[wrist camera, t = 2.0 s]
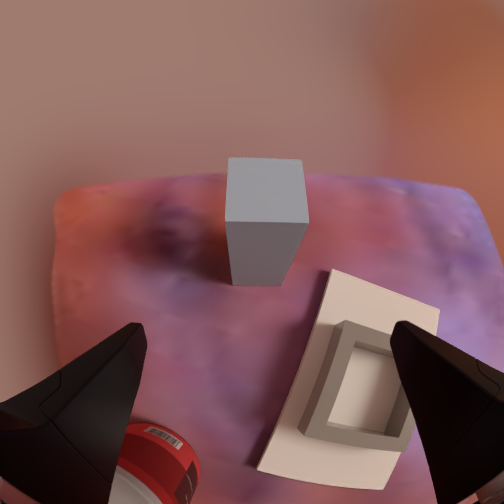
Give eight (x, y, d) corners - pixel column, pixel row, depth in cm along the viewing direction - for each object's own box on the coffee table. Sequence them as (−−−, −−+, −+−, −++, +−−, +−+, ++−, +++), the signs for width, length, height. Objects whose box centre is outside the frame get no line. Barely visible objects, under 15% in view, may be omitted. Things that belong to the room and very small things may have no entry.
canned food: (102, 423, 18) (21, 446, 8) (185, 414, 19) (137, 453, 9) (130, 496, 15) (73, 550, 5) (214, 491, 16) (195, 566, 6)
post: (280, 286, 23) (309, 222, 13) (232, 285, 23) (224, 221, 13) (279, 242, 25) (301, 160, 15) (233, 241, 25) (228, 157, 15)
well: (379, 486, 16) (396, 499, 13) (256, 466, 17) (258, 482, 14) (435, 311, 22) (456, 303, 19) (329, 271, 24) (342, 257, 21)
